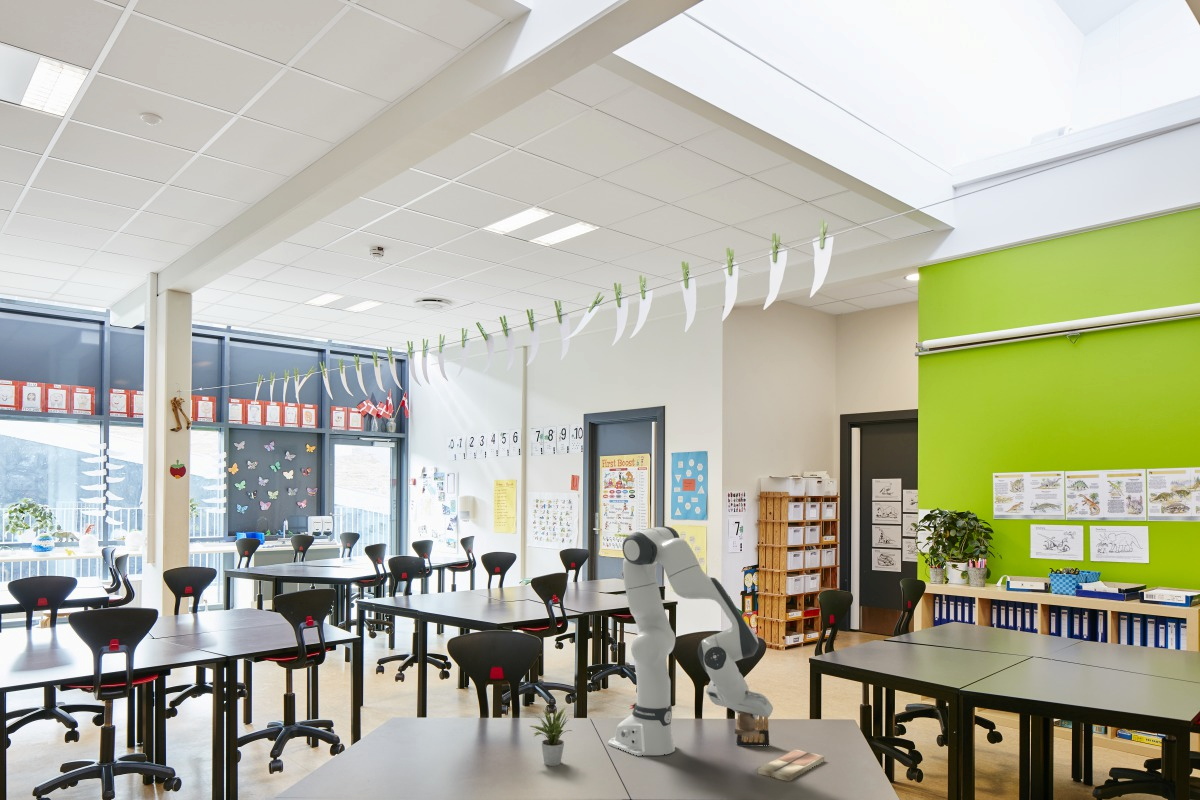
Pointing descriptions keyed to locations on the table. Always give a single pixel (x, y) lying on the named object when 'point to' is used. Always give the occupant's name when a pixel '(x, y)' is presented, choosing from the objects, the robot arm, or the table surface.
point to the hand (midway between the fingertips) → (748, 715)
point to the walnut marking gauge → (746, 725)
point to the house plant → (552, 738)
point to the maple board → (791, 765)
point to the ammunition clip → (760, 738)
